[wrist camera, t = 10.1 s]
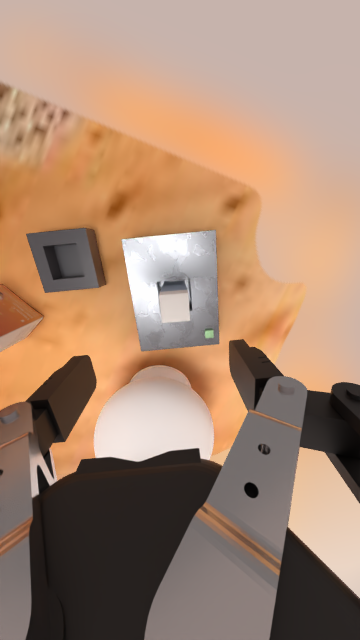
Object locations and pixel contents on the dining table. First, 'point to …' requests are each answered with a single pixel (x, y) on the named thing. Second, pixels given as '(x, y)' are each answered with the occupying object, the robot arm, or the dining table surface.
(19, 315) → the small box
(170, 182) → the dining table surface
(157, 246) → the port
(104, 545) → the robot arm
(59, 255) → the holster
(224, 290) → the dining table surface
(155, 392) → the decorative vase
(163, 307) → the plug
